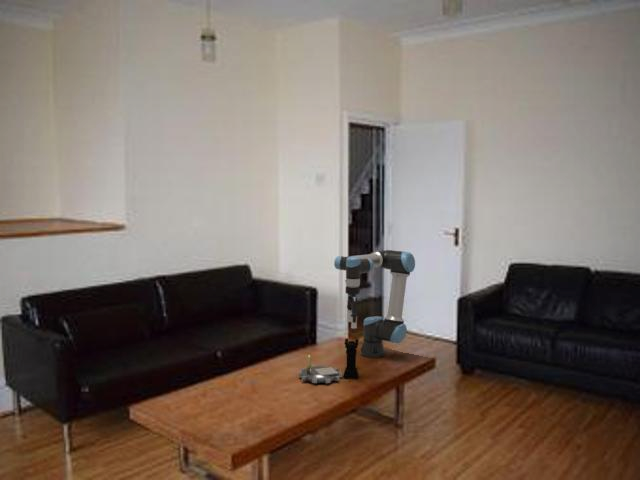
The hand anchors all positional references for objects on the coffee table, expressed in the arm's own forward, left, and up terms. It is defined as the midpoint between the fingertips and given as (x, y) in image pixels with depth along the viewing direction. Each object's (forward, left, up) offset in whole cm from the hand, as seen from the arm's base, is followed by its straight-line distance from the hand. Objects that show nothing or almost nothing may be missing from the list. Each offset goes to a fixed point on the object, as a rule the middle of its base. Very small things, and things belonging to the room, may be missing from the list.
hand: (351, 325), depth 310 cm
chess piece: (0, 0, -29) cm, 29 cm away
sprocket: (+12, -12, -27) cm, 32 cm away
